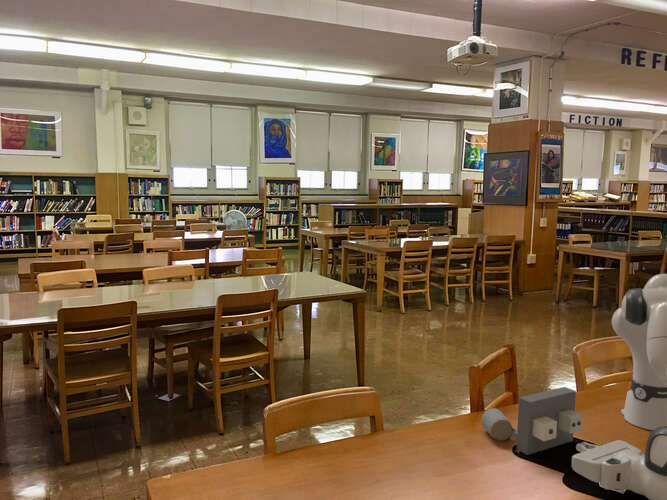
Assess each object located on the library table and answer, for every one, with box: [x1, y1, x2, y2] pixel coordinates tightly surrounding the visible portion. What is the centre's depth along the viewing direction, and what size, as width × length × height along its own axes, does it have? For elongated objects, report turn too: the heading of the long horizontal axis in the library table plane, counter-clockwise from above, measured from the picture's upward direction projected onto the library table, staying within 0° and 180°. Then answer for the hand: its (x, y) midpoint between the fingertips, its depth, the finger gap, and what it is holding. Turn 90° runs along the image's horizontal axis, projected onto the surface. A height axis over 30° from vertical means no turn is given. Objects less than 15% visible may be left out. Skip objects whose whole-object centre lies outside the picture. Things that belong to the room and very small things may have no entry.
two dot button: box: [558, 409, 583, 434], centre depth 157 cm, size 5×5×5 cm
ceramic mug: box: [480, 408, 518, 442], centre depth 164 cm, size 11×8×8 cm
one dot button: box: [532, 416, 557, 441], centre depth 152 cm, size 5×5×5 cm
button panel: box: [516, 386, 577, 456], centre depth 158 cm, size 20×4×16 cm, turn 118°
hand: (579, 445), depth 142 cm, fingers closed
